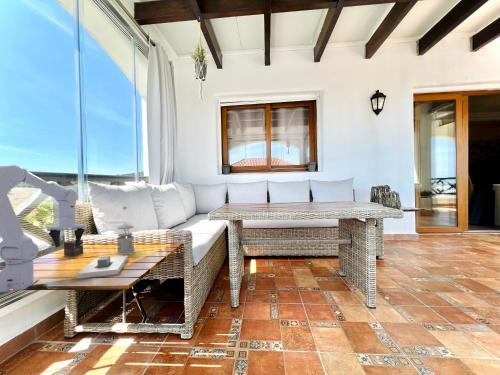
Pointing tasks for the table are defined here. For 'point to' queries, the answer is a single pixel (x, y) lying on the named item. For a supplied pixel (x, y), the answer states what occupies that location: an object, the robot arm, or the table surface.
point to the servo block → (104, 262)
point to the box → (73, 248)
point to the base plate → (94, 271)
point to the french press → (125, 240)
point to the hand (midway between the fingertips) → (67, 245)
